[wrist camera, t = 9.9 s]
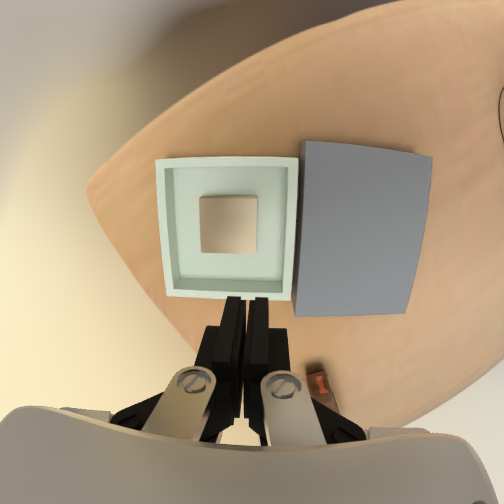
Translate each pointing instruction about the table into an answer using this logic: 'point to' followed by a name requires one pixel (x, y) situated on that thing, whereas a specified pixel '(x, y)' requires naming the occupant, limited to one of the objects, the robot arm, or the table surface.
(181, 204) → the box
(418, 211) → the plate
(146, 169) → the table surface
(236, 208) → the block
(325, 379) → the tin
